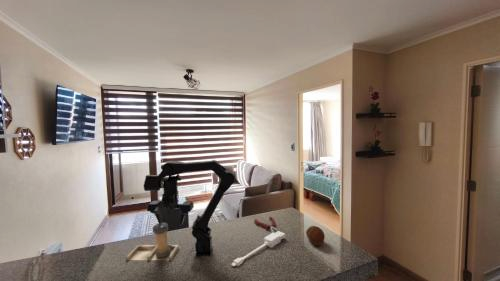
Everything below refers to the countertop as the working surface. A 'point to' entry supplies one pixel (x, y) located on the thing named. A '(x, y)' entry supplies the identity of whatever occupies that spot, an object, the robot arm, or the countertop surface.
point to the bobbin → (161, 240)
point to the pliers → (267, 227)
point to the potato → (315, 235)
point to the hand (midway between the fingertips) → (171, 225)
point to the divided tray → (149, 252)
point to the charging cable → (268, 240)
